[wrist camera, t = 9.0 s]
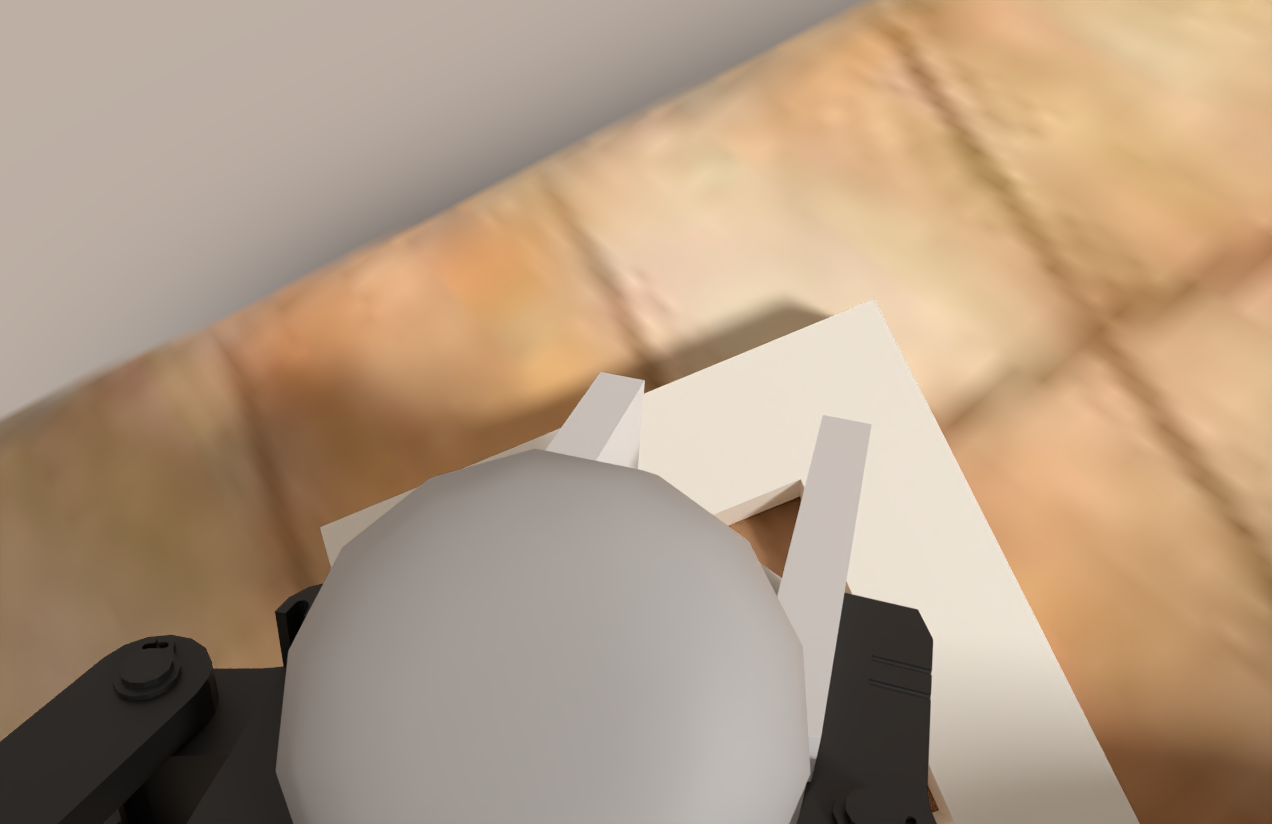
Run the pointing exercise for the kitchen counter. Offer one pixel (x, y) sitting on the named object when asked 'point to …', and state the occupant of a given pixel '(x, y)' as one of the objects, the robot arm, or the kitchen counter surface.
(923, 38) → the kitchen counter surface
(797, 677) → the salt shaker
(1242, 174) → the kitchen counter surface
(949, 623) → the collar
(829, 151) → the kitchen counter surface
